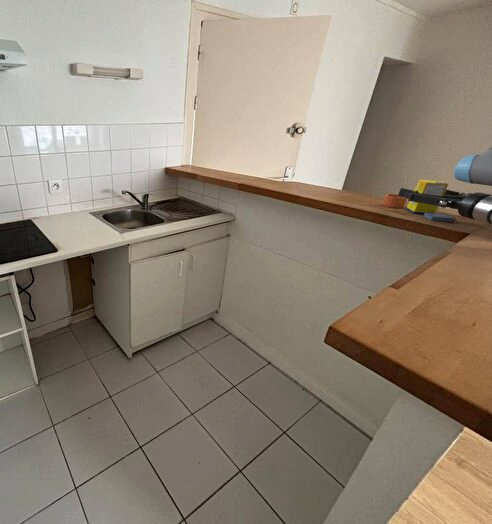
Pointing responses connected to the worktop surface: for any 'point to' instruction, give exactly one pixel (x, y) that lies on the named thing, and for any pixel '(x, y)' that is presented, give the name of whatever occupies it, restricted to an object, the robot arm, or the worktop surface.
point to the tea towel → (439, 217)
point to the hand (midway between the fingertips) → (419, 192)
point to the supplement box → (427, 188)
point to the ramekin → (394, 201)
